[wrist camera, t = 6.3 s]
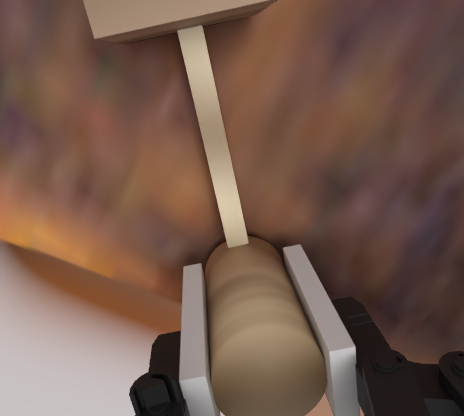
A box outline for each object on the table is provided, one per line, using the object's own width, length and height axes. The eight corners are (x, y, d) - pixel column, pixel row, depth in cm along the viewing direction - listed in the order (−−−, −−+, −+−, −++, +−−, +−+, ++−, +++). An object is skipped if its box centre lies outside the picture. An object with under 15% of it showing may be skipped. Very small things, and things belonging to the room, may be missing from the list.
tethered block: (302, 292, 20) (355, 408, 13) (200, 316, 20) (203, 444, 13) (227, -148, 14) (257, -328, 7) (79, -115, 14) (-22, -267, 7)
